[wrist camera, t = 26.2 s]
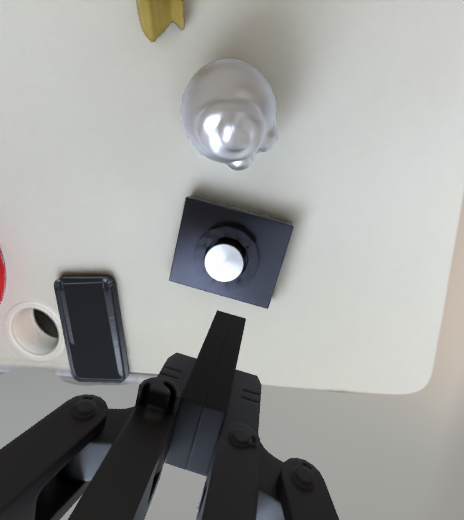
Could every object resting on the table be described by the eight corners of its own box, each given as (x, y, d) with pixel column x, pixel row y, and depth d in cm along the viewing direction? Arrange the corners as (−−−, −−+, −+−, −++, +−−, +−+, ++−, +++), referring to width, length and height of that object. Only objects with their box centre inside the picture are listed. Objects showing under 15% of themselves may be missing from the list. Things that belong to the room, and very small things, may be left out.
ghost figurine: (194, 169, 36) (166, 169, 27) (193, 75, 34) (161, 38, 24) (275, 170, 35) (276, 171, 26) (280, 73, 33) (283, 34, 23)
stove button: (249, 245, 34) (247, 250, 32) (239, 279, 35) (237, 286, 33) (212, 235, 34) (209, 239, 33) (204, 270, 36) (200, 275, 34)
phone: (110, 278, 40) (126, 383, 44) (114, 275, 41) (129, 378, 45) (51, 278, 41) (71, 381, 45) (57, 275, 42) (76, 376, 46)
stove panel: (292, 222, 37) (294, 229, 33) (268, 301, 40) (267, 315, 36) (191, 195, 37) (181, 198, 33) (174, 274, 40) (163, 286, 36)
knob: (149, 51, 34) (129, 31, 29) (142, -8, 32) (119, -38, 28) (193, 44, 33) (180, 23, 28) (187, -16, 32) (172, -48, 27)
